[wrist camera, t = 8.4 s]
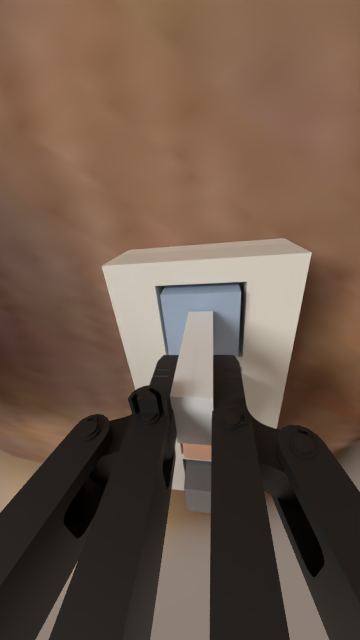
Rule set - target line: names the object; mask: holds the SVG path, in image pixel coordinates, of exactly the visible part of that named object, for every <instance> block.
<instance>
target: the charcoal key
mask: <svg viewBox="0 0 360 640" xmlns="http://www.w3.org/2000/svg"><path fill="white" fill-rule="evenodd" d="M184 493H185V498H186V504H187V510H188V511H196V512H203V513H211V461H200V460H189V459H187V461H186V471H185V481H184Z"/></svg>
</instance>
